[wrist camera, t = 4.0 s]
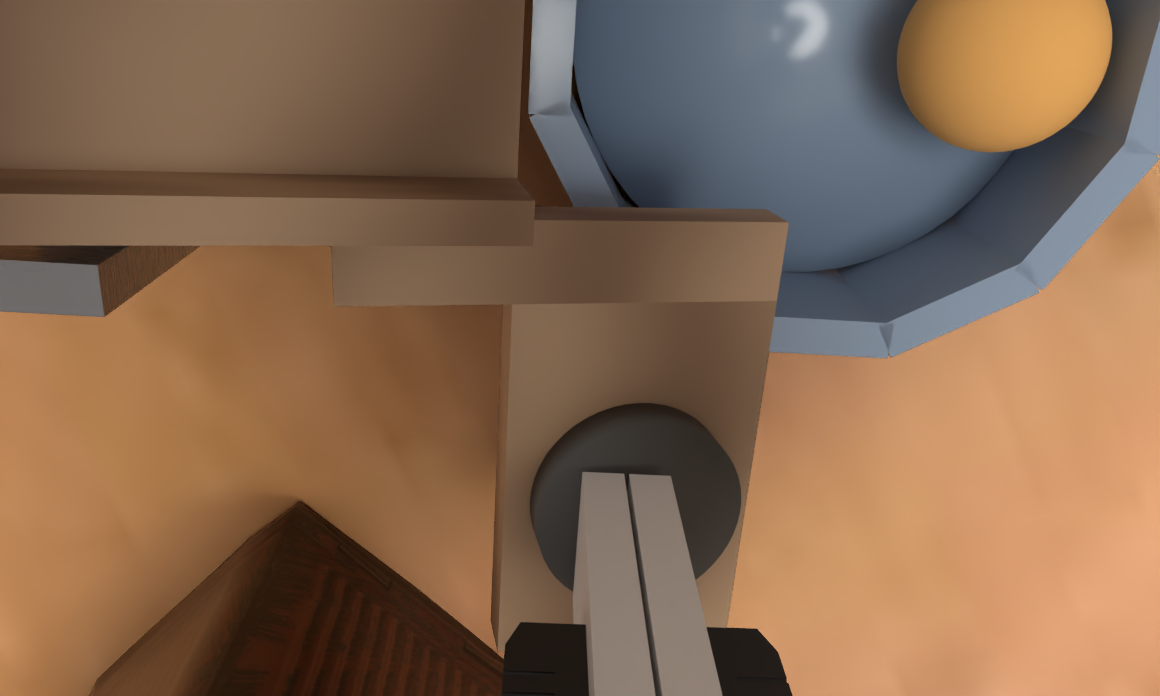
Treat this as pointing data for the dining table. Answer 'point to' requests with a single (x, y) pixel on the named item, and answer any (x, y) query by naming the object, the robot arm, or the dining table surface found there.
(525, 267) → the lever
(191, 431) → the dining table surface
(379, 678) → the brown manual coffee grinder
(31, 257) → the stand
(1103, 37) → the ball
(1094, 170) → the bowl
